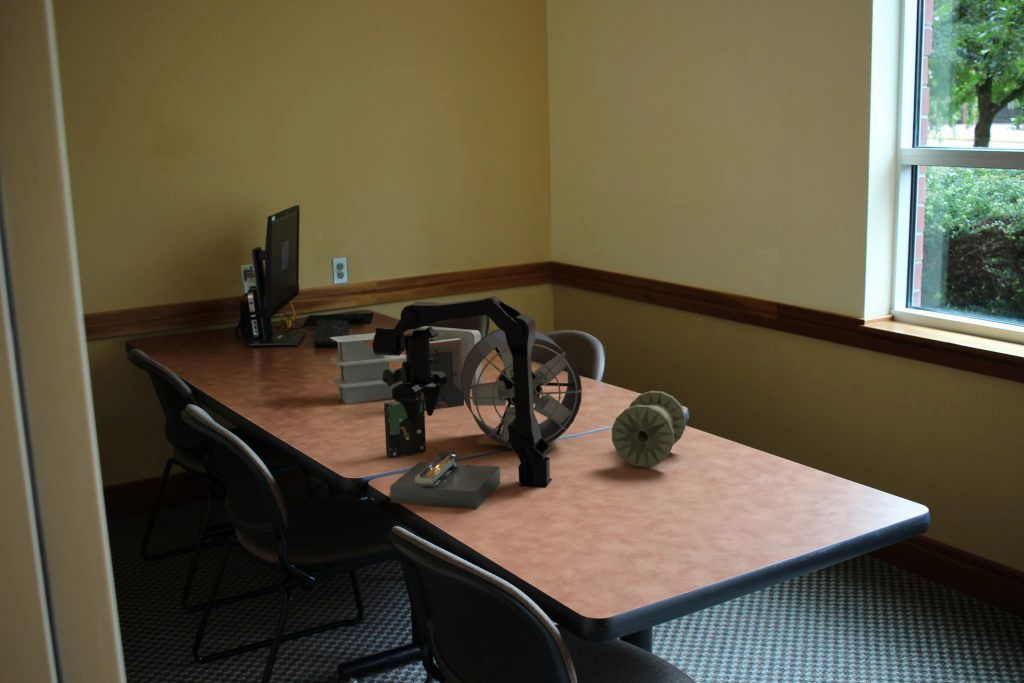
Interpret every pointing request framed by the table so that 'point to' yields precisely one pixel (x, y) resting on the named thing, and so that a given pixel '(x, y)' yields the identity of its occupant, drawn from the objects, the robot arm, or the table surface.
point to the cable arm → (437, 467)
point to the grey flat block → (447, 487)
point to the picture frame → (448, 371)
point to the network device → (467, 342)
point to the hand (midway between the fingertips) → (421, 420)
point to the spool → (648, 428)
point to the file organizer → (361, 370)
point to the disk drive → (403, 431)
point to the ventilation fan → (503, 388)
